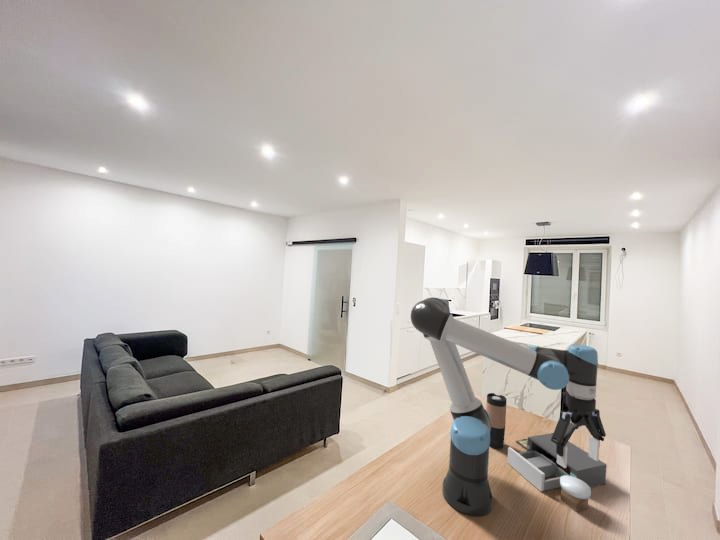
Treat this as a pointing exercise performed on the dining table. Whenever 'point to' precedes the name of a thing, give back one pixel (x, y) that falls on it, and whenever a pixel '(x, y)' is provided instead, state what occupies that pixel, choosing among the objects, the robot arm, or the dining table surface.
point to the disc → (575, 487)
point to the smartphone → (549, 456)
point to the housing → (572, 459)
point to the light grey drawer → (536, 468)
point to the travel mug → (496, 419)
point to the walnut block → (574, 501)
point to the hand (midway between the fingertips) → (577, 461)
